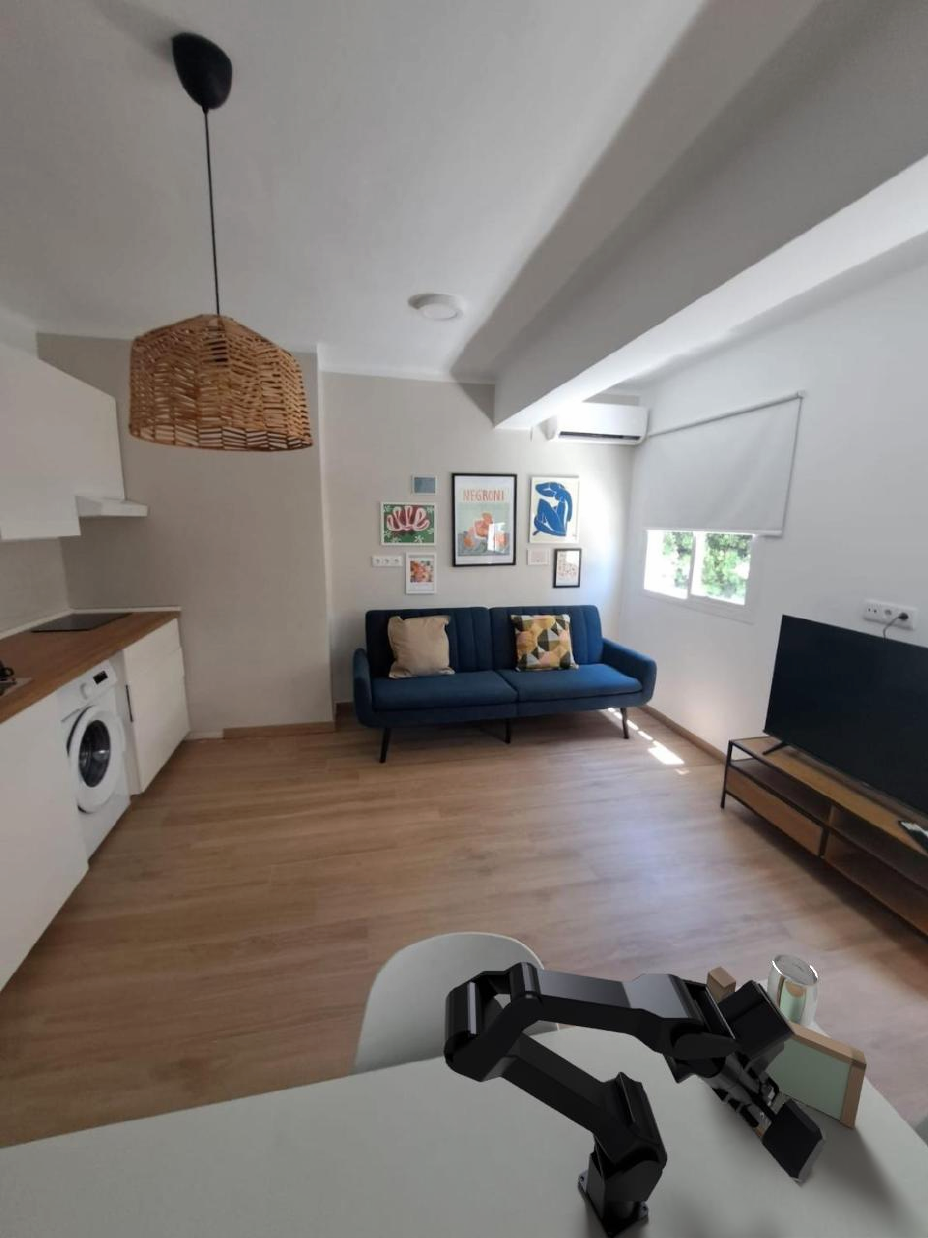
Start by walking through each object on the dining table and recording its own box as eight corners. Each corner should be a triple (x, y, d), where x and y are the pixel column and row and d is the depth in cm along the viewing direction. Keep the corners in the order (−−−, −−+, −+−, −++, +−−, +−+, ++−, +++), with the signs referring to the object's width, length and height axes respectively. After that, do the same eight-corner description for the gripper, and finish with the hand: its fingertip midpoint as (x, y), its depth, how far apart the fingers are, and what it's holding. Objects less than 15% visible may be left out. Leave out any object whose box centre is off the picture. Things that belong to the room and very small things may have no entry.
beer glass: (792, 1028, 87) (805, 954, 84) (816, 1069, 80) (831, 990, 78) (751, 1023, 87) (763, 949, 85) (772, 1063, 81) (785, 985, 78)
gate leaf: (730, 1068, 79) (739, 1009, 77) (730, 1057, 81) (738, 999, 79) (853, 1128, 72) (866, 1064, 70) (850, 1115, 73) (863, 1052, 72)
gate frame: (797, 1180, 66) (813, 1094, 63) (685, 1050, 82) (695, 978, 80) (824, 1158, 68) (840, 1074, 66) (710, 1036, 85) (720, 966, 82)
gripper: (832, 1078, 54) (869, 1117, 60) (692, 948, 71) (732, 989, 77) (775, 1169, 52) (819, 1200, 58) (645, 1013, 69) (690, 1050, 75)
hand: (759, 1095), depth 67 cm, fingers closed
